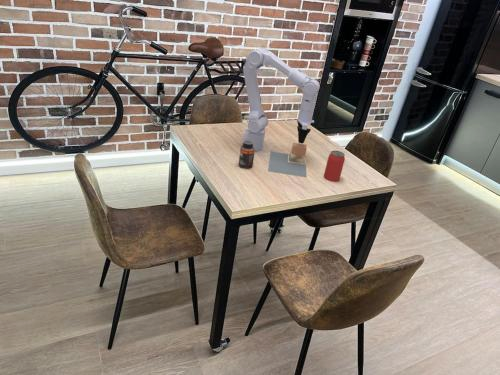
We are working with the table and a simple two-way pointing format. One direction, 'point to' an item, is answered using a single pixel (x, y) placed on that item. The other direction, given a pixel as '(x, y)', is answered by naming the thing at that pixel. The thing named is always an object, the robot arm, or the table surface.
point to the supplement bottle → (246, 155)
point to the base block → (297, 158)
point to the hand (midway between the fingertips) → (300, 139)
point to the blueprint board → (286, 165)
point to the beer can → (334, 166)
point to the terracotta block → (299, 149)
